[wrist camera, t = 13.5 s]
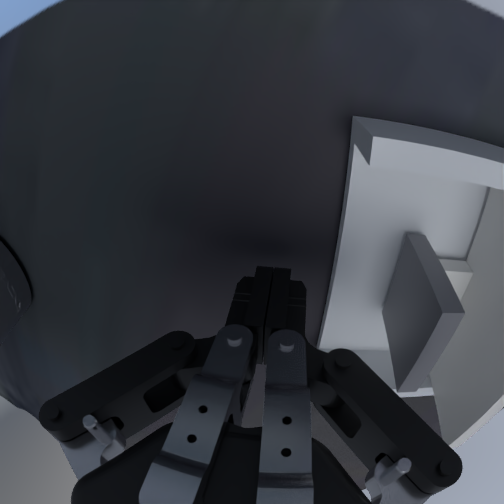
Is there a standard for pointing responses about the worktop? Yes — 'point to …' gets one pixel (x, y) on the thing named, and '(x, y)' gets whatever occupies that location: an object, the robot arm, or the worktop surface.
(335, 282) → the grey shallow tray
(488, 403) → the pusher
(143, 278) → the worktop surface
